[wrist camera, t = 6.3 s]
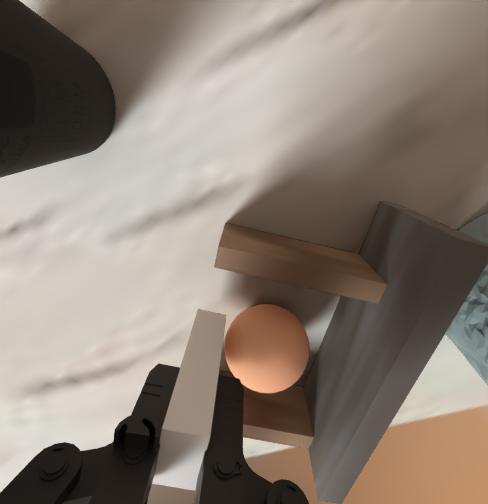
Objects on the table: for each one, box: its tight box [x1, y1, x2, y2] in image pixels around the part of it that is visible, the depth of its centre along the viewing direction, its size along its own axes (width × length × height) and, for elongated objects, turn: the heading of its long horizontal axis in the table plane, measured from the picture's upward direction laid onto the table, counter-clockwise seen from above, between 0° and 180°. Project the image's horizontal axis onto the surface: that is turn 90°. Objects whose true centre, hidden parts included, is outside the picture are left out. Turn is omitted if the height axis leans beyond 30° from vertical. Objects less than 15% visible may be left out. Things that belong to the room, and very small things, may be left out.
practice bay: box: [214, 201, 488, 504], centre depth 14 cm, size 9×14×6 cm, turn 167°
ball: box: [225, 304, 309, 393], centre depth 15 cm, size 4×4×4 cm
